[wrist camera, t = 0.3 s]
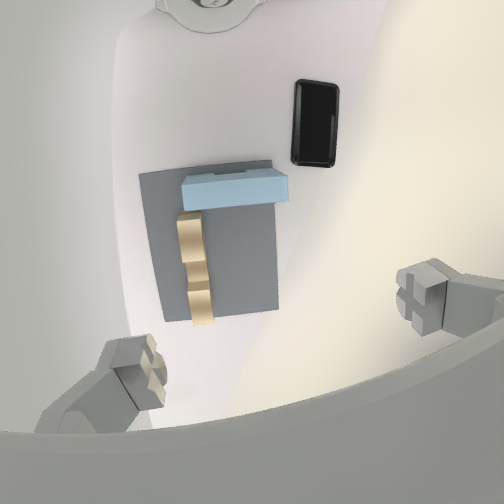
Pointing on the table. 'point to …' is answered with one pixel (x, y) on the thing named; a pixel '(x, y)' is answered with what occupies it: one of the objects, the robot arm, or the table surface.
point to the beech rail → (196, 266)
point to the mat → (212, 246)
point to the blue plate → (234, 189)
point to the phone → (315, 123)
